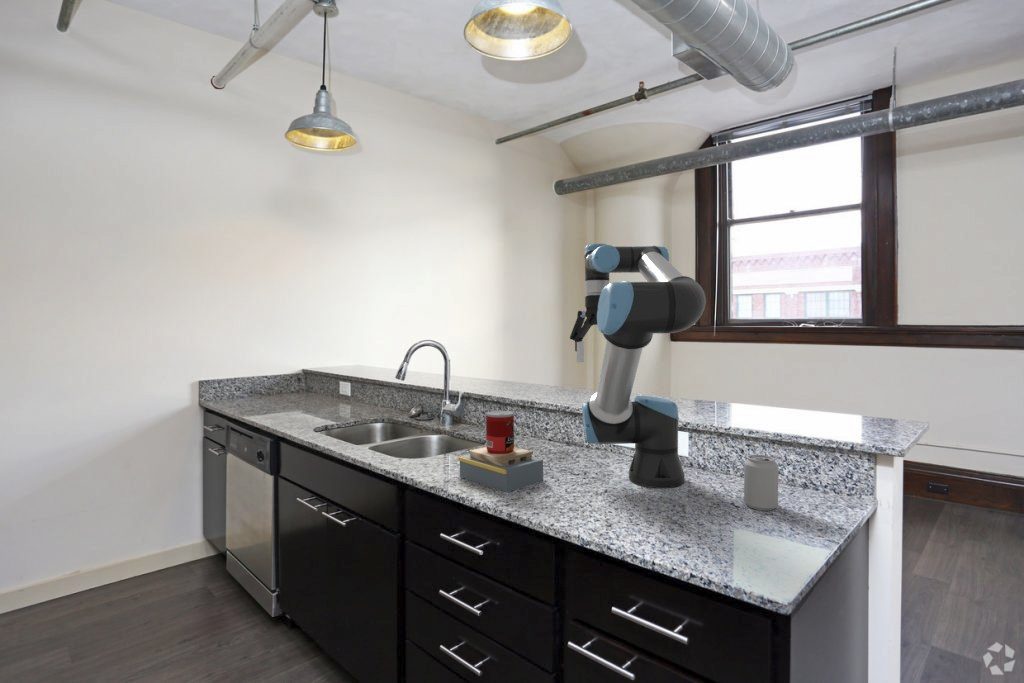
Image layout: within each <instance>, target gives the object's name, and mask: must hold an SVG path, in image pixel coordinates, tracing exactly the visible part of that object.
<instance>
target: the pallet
mask: <svg viewBox="0 0 1024 683" xmlns="http://www.w3.org/2000/svg"><path fill="white" fill-rule="evenodd" d="M468 454H470V457H472V458H475V459H479V460H482V461H486V462H489V463H493V464H496V465H500V466H507V465H508V461H509V462H512V463H518V462H520V459H524V460H529V459H532V457H533V456H532V455H534V451H533V450H532V451H531V450H527V449H524V448H519V447H515V446H514V450H513V452H511V453H507V454H493V453H489V452H488V451H487V446H483V447H479V448H478V447H477V448H474V449H470V450H468Z"/></svg>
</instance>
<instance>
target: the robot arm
mask: <svg viewBox="0 0 1024 683" xmlns="http://www.w3.org/2000/svg"><path fill="white" fill-rule="evenodd" d="M583 257H584V294H585V296H584V307H585V308H586V310H578V311H577V314H576V315H577V317H576V320H575V323H574V325H573V328H572V330H571V333H570V336H569V339H570V340H572V341H574V351H575V352H576V363H584V362H585V342H584V340H583V339H584V338H585V337H586V335H587V333H588V332H589V330H590V329H591V327H592V326H597V329H598V331H599V332H600V333H601V334H602V336H603V338H604V339H605V340H606V343H605V349H604V354H603V359H602V364H601V370H600V375H599V382H598V386H597V390H596V392H595V393H594V394H593V395H591V398H590V400H589V401H584V402H583V403H581V410H582V411H581V412H582V422H583V430H584V436H585V440H586V442H587V443H589V444H591V445H592V444H593V445H595V444H596V445H615V444H617V445H620V444H622V445H623V444H625V445H626V444H627V445H629V444H633V445H635V446H634V455H633V457H632V461H631V464H630V466H629V468H628V469H629V470H628V479H629V481H630V482H632V483H633V484H637V485H640V486H643V487H649V488H656V489H657V488H659V489H660V488H661V489H663V488H664V489H665V488H667V489H669V488H675V487H680V486H682V485H684V484H685V480H686V479H685V471H684V468H683V466H682V462H681V459H680V456H679V420H680V417H679V411H678V410H679V408H678V405H677V403H676V402H675V401H673V400H670V399H666V398H662V397H656V396H648V395H636V396H635V398H634V401H631V395H632V390H633V388H634V383H635V379H636V377H637V376H636V375H637V372H638V368H639V363H640V361H641V360H640V359H641V355H642V353H643V349H644V348H645V347H647V346H648V345H650V343H651V341H652V339H653V336H654V334H676V333H679V332H680V333H681V332H682V331H687V329H689V328H691V327H692V326H694V325H695V324H696V323H697V322H698V321H699V319H700V318H701V317H702V316H703V312H705V308H706V305H707V304H706V303H707V301H706V300H707V299H706V295H705V294H706V293H705V290H704V289H703V287H702V286H701V285H700V284H699V282H697V281H696V280H695V279H694V278H692V277H691V276H687V275H686V276H685V275H683V273H681V272H680V271H679V270H678V269H677V268H676V267H675V266H674V265H673V264H672V263H671V262H670V254H669V250H668V249H667V248H666V247H665V246H659V245H658V246H657V245H650V246H648V245H647V246H646V245H645V246H613V245H611V244H606V243H590V244H587V245H586V246H585V247H584V256H583ZM611 273H613V274H614V273H619V274H620V273H621V274H622V273H623V274H624V273H628V274H629V273H634V274H635V273H639V274H641V275H642V276H643V278H644V279H645V280H646V281H629V280H622V281H615V282H614V281H613V282H610V274H611Z"/></svg>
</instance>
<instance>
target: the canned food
mask: <svg viewBox="0 0 1024 683" xmlns="http://www.w3.org/2000/svg"><path fill="white" fill-rule="evenodd" d="M485 426H486V427H485V429H486V430H485V431H486V434H485V436H486V447H487V451H488V452H489V453H493V454H507V453H511V452H513V450H514V447H515V413H514V412H513V411H509V410H492V411H487V412H486V415H485Z"/></svg>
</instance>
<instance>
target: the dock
mask: <svg viewBox="0 0 1024 683" xmlns="http://www.w3.org/2000/svg"><path fill="white" fill-rule="evenodd" d="M457 460H458V462H459V477H460V478H462V479H466V480H468V481H472V482H475V483H478V484H481V485H484V486H487V487H490V488H492V489H497V490H499V491H502V492H505V493H508V492H513V491H515V490H519V489H521V488H525V487H528V486H532V485H534V484H537V483H541V482H544V459H540V458H537V457H533V456H532V459H529V460H524V459H520V462H518V463H512V462H509V461H508V465H507V466H500V465H496V464H493V463H489V462H486V461H482V460H479V459H475V458H472V457H470V453H467V454H464V455H459V456H458V457H457Z"/></svg>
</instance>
